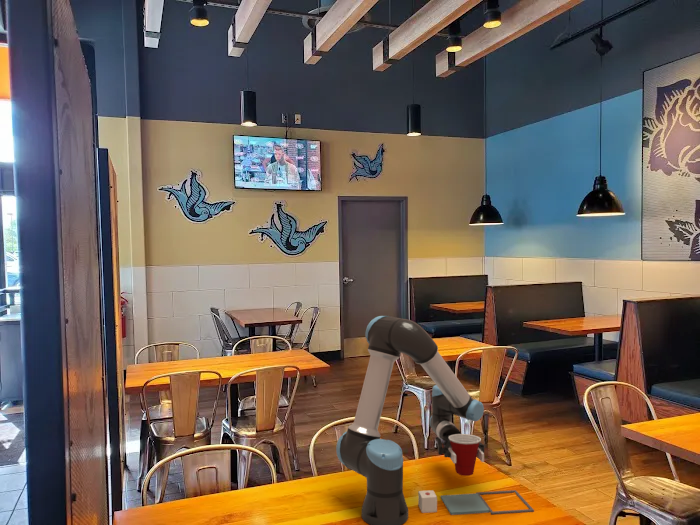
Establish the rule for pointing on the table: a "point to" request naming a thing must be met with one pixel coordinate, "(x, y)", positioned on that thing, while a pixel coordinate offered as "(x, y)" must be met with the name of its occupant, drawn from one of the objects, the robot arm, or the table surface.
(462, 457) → the plastic cup
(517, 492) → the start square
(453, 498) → the pad
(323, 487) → the table surface
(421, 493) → the die
